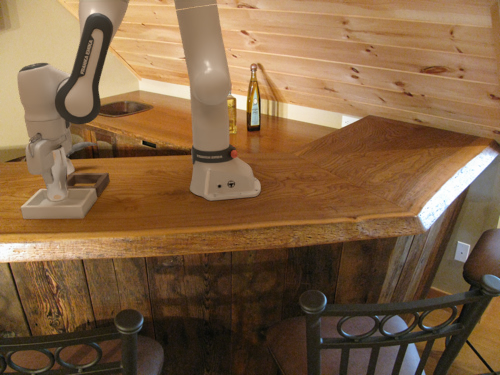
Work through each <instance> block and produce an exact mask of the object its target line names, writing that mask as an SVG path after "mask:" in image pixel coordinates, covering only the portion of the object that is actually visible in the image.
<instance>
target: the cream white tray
mask: <svg viewBox="0 0 500 375" xmlns="http://www.w3.org/2000/svg"><path fill="white" fill-rule="evenodd" d="M68 190H69V192H70V195H71V197H70V198H69V199H68V200H66V201H63V202H57V203H53V202H49V201H48V200H47V188H39V190H37V191H36V192H35V193H34V194H33V195H32V196H31V197H30V198H29V199H27V201H26V202H25V203H23V205H21V206H20V211H21V213H22V214H21V215H22V217H23V218H22V219H23V220H30V219H31V220H35V219H36V220H38V219H39V220H41V219H42V220H43V219H44V220H47V219H48V220H49V219H51V220H52V219H53V220H56V219H57V220H58V219H60V220H61V219H62V220H63V219H69V220H70V219H85V217H86V216H87V214H88V213H89V212H90V210H91V209H92V207H93V206H94V204H95V203H96V202H97V200H98V197H97V195H96V189H95V188H85V189H68Z"/></svg>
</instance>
